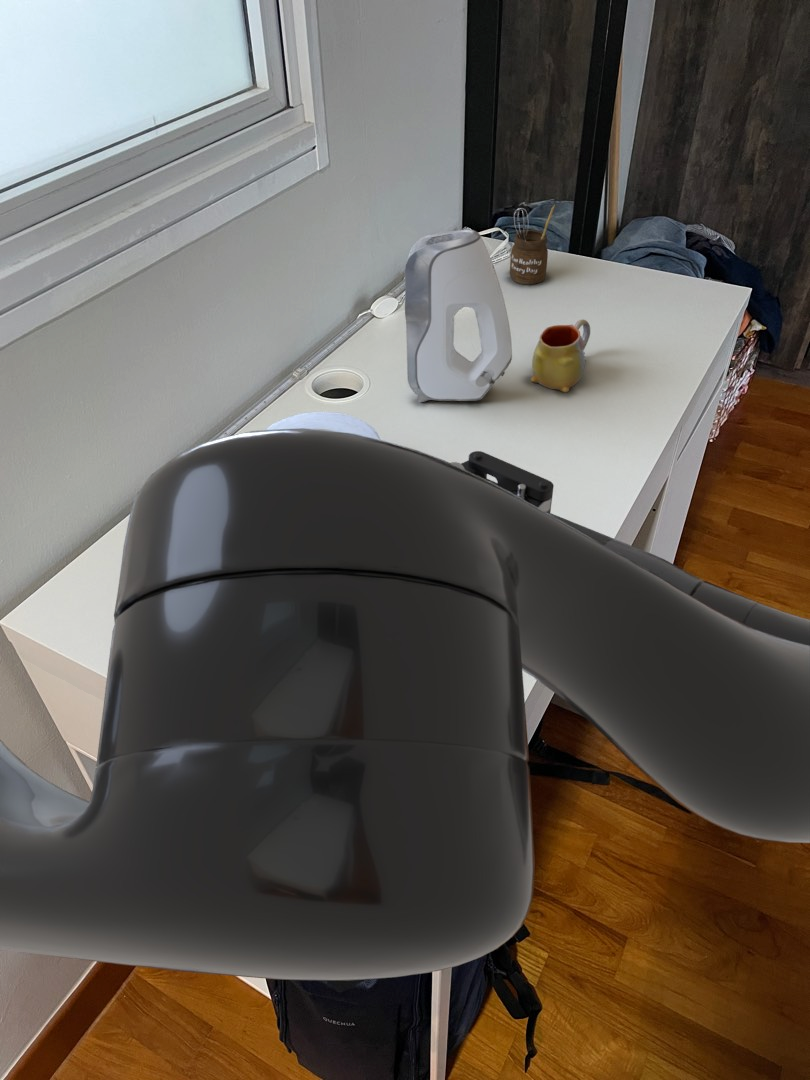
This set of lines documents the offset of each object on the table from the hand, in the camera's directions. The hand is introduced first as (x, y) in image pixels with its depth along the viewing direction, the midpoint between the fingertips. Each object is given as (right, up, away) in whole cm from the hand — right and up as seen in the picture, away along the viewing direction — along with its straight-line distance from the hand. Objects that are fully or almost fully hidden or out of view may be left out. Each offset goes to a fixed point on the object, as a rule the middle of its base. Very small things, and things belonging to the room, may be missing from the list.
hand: (351, 498), depth 50 cm
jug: (+10, +17, +59) cm, 63 cm away
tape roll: (-7, +4, +46) cm, 47 cm away
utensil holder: (+24, +40, +84) cm, 96 cm away
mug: (+26, +21, +63) cm, 71 cm away
